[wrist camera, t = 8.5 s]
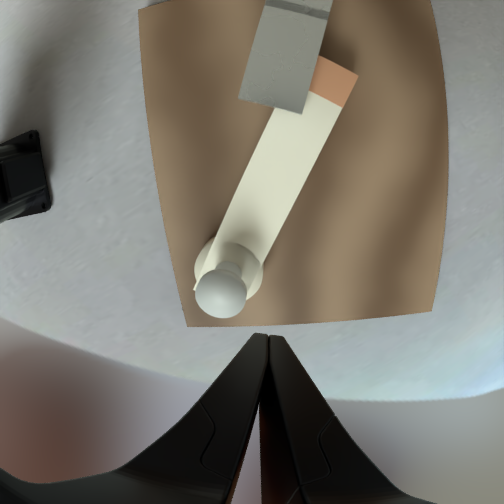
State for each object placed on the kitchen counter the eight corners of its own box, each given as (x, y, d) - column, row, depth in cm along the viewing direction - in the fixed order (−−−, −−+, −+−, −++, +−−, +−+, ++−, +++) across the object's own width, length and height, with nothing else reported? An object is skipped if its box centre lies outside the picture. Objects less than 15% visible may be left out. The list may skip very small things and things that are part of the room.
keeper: (244, 102, 16) (237, 98, 13) (275, -4, 13) (274, -26, 10) (298, 116, 16) (302, 114, 13) (327, 9, 13) (336, -11, 10)
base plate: (190, 319, 23) (187, 326, 22) (144, 13, 15) (138, 9, 14) (426, 304, 21) (431, 311, 20) (422, -1, 12) (428, -6, 12)
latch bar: (248, 299, 21) (240, 339, 17) (191, 274, 20) (173, 309, 16) (359, 83, 15) (382, 73, 11) (294, 51, 14) (298, 30, 11)
